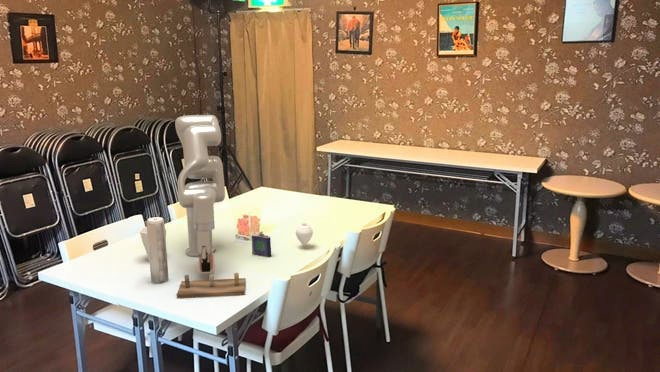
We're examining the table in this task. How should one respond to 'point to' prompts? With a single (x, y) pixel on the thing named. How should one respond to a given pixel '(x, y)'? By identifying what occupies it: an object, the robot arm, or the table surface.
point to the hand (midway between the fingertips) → (206, 267)
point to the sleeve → (211, 260)
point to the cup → (146, 239)
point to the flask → (261, 245)
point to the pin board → (212, 287)
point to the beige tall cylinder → (157, 250)
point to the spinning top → (304, 233)
